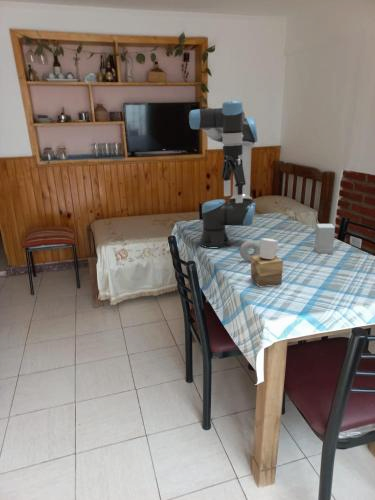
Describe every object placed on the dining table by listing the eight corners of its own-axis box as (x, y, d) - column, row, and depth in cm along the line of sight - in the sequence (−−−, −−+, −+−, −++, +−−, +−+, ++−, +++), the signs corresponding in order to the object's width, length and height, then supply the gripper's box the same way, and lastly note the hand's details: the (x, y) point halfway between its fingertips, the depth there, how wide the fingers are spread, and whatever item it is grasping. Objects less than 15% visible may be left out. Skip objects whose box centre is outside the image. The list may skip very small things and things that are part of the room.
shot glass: (254, 254, 137) (256, 237, 136) (268, 254, 140) (270, 237, 139) (265, 259, 131) (267, 241, 130) (279, 259, 134) (282, 241, 133)
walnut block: (251, 278, 143) (251, 267, 141) (271, 276, 144) (272, 264, 143) (259, 288, 134) (259, 276, 133) (281, 285, 136) (281, 273, 134)
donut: (260, 259, 162) (260, 238, 159) (262, 261, 159) (262, 240, 156) (238, 260, 162) (239, 239, 159) (240, 263, 159) (240, 242, 155)
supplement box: (332, 253, 165) (335, 227, 161) (316, 253, 166) (318, 227, 162) (330, 248, 172) (332, 223, 167) (314, 247, 173) (316, 223, 169)
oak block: (250, 267, 141) (251, 256, 139) (271, 264, 143) (271, 253, 141) (260, 276, 132) (261, 264, 131) (282, 272, 135) (282, 260, 133)
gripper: (255, 145, 123) (254, 204, 131) (230, 142, 146) (230, 192, 154) (235, 147, 122) (235, 206, 129) (213, 143, 145) (214, 194, 152)
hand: (232, 199), depth 142 cm, fingers open, 13 cm apart
